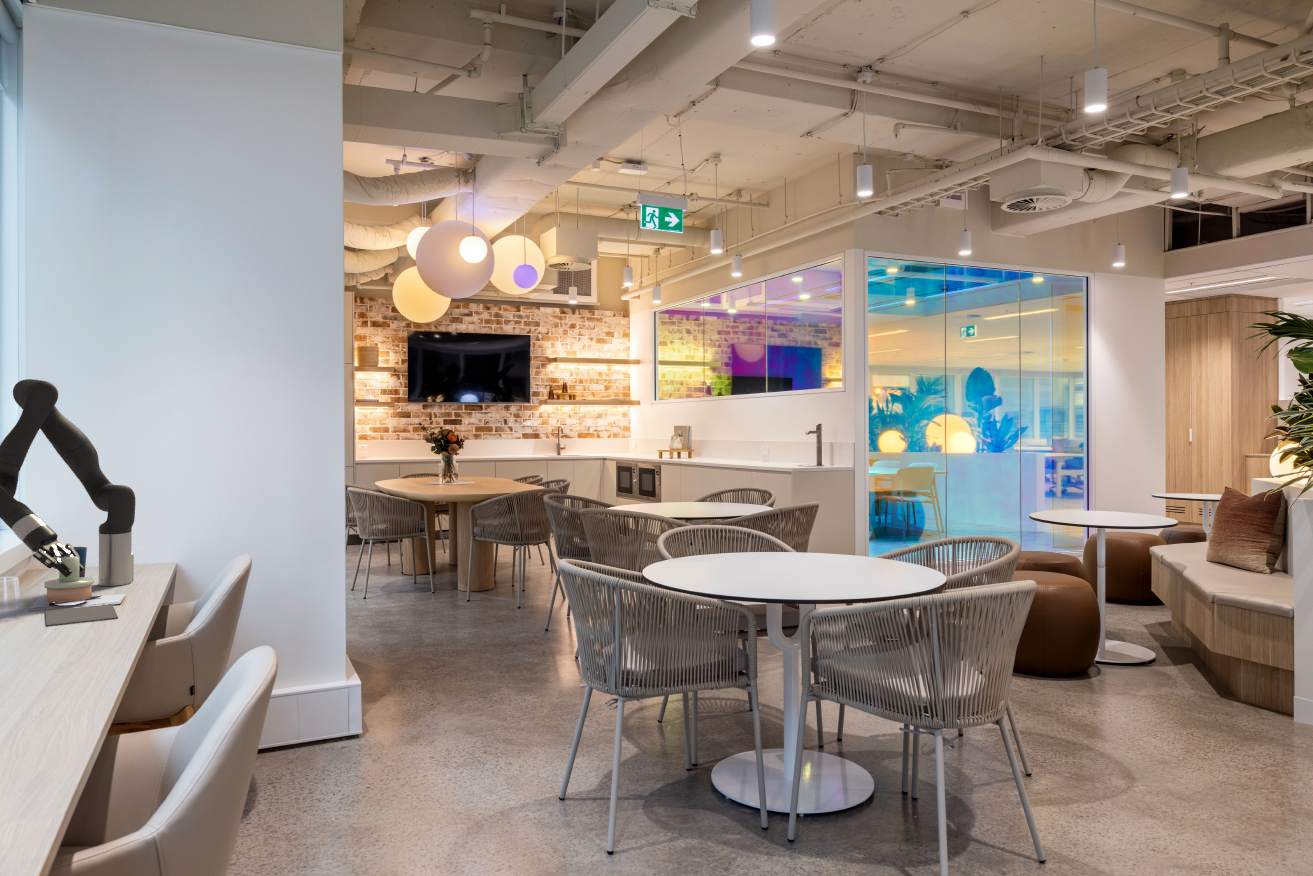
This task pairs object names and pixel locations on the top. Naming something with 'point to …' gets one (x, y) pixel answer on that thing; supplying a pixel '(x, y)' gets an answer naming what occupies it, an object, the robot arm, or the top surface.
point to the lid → (72, 579)
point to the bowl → (69, 594)
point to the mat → (79, 614)
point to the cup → (81, 558)
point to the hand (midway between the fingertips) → (75, 573)
